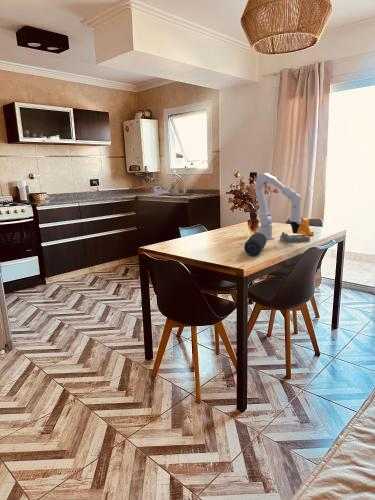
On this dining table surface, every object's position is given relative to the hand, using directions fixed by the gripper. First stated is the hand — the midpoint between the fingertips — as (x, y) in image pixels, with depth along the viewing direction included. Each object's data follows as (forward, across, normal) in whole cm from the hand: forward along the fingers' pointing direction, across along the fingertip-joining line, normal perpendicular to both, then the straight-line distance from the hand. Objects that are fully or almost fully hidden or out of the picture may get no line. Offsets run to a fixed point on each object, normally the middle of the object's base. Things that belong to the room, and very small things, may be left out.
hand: (294, 233), depth 226 cm
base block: (+5, 0, 0) cm, 5 cm away
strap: (+2, 0, +1) cm, 2 cm away
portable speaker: (+5, -22, +34) cm, 40 cm away
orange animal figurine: (+5, +15, -14) cm, 21 cm away
